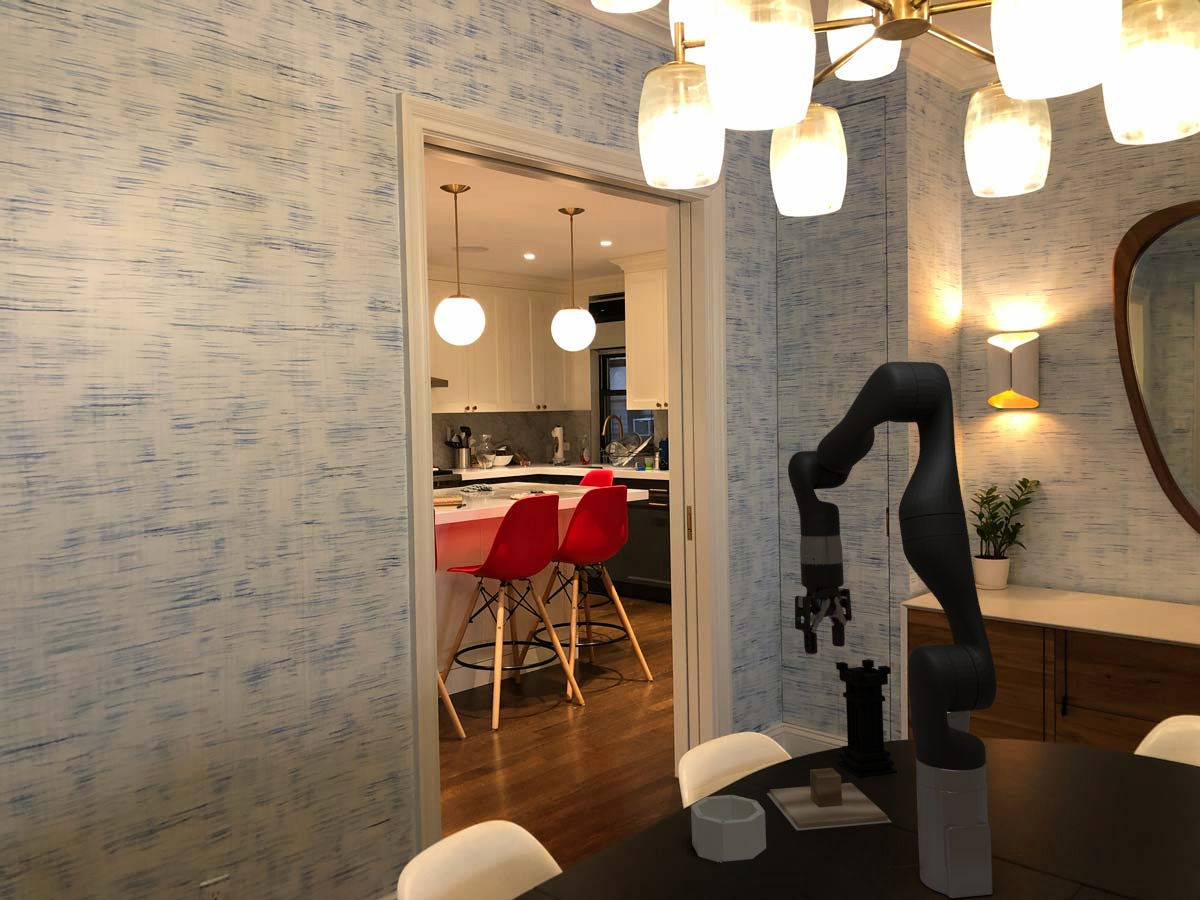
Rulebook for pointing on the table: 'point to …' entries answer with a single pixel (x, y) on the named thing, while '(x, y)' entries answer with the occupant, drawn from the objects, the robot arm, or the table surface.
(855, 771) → the chess piece
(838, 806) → the lid
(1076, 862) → the table surface
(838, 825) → the mat
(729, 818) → the bowl
